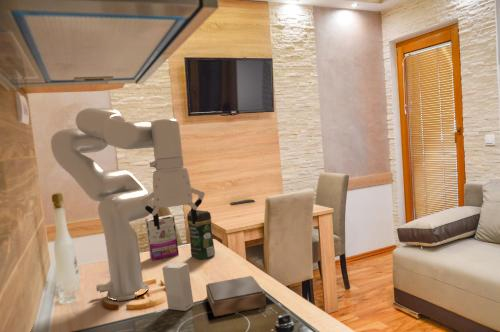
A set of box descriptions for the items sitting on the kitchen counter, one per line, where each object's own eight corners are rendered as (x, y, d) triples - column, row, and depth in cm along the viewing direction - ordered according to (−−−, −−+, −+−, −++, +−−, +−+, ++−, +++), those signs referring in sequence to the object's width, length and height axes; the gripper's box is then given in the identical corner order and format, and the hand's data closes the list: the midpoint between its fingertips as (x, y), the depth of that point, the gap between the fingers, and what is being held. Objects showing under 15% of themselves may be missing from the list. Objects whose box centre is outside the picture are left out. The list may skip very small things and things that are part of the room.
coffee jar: (188, 257, 158) (183, 211, 157) (204, 252, 164) (199, 207, 162) (202, 261, 151) (196, 213, 150) (218, 255, 156) (213, 209, 155)
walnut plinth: (214, 316, 102) (212, 301, 102) (207, 296, 116) (205, 283, 116) (266, 306, 105) (264, 291, 105) (253, 288, 119) (252, 275, 119)
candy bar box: (176, 252, 167) (171, 214, 166) (179, 255, 163) (174, 215, 162) (149, 258, 163) (144, 218, 162) (151, 261, 158) (146, 220, 157)
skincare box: (194, 305, 111) (189, 262, 110) (184, 312, 107) (179, 268, 106) (176, 303, 113) (171, 261, 113) (166, 309, 109) (161, 266, 109)
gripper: (136, 168, 103) (143, 233, 104) (202, 161, 107) (209, 224, 108) (137, 167, 110) (144, 228, 111) (199, 160, 114) (205, 219, 115)
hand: (176, 226), depth 110 cm, fingers open, 9 cm apart
